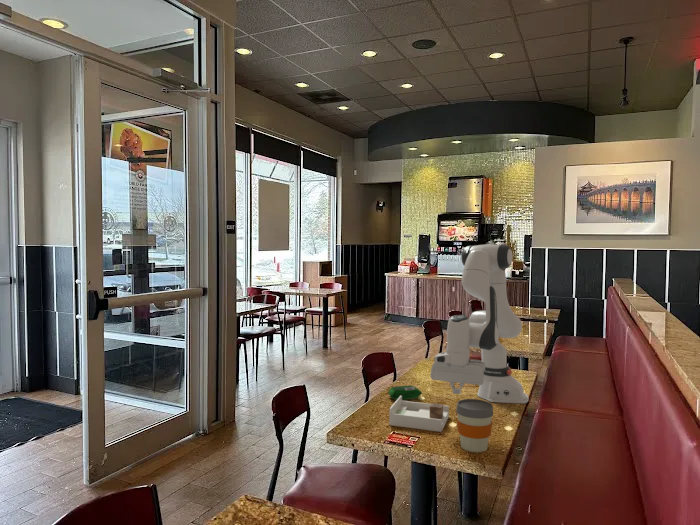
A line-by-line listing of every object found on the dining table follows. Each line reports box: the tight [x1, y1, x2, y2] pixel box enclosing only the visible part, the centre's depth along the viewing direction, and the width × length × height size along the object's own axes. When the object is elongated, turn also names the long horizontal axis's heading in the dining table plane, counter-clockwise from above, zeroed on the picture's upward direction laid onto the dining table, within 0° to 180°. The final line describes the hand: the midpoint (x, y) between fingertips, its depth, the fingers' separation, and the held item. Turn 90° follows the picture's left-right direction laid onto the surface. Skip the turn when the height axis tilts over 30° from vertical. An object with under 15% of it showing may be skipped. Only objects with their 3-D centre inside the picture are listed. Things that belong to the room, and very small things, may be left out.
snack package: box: [387, 385, 423, 401], centre depth 232 cm, size 7×16×5 cm, turn 102°
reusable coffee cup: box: [455, 398, 494, 453], centre depth 178 cm, size 13×13×15 cm
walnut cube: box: [430, 402, 444, 419], centre depth 201 cm, size 4×4×4 cm
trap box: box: [388, 396, 450, 433], centre depth 203 cm, size 20×17×6 cm
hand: (456, 393), depth 197 cm, fingers closed
